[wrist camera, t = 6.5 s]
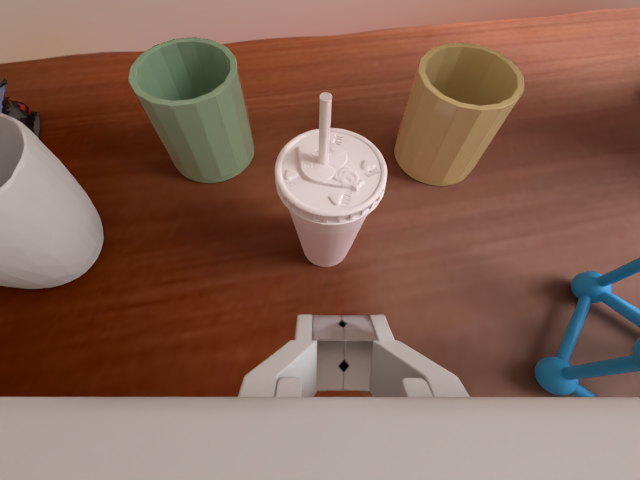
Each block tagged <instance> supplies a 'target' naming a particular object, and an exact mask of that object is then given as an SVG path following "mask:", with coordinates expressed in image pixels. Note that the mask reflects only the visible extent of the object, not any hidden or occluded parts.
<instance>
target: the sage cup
mask: <svg viewBox="0 0 640 480" xmlns="http://www.w3.org/2000/svg"><path fill="white" fill-rule="evenodd" d="M129 83H130V85H131V87H132V89H133V91H134V92H135V94H136V96H137V98H138V100H139V101H140V103H141V105H142V107H143V109H144V110H145V112H146V114H147V116H148V118H149V120H150V121H151V123H152V125H153V127H154V129H155V130H156V132H157V134H158V136H159V138H160V139H161V141H162V143H163V145H164V147H165V148H166V150H167V152H168V154H169V156H170V157H171V159H172V161H173V163H174V165H175V166H176V168H177V169H178V171H179V172H180V173H181V174H182V175H183V176H185V177H186V178H188V179H190V180H193V181H196V182H200V183H217V182H222V181H226V180H229V179H231V178H233V177H235V176H237V175H238V174H240V173H241V172H243V171H244V170H245V169H246V168H247V167H248V165H249V164H250V163H251V161H252V159H253V156H254V151H255V146H254V141H253V134H252V129H251V125H250V120H249V116H248V111H247V106H246V102H245V97H244V92H243V88H242V83H241V78H240V74H239V69H238V65H237V60H236V58H235V56H234V55H233V54H232V53H231V51H230V50H229V49H228V48H227V47H225V46H223V45H221V44H219V43H217V42H215V41H213V40H208V39H201V38H181V39H173V40H170V41H167V42H164V43H161V44H157V45H155V46H153V47H152V48H150V49H149V50H147V51H145V52H144V53H142V54H141V55H140V56H139V57H138V58H137V60H136V61H135V62H134V63H133V65H132V66H131V68H130V74H129Z"/></svg>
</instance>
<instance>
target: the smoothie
mask: <svg viewBox="0 0 640 480" xmlns="http://www.w3.org/2000/svg"><path fill="white" fill-rule="evenodd" d="M331 107H332V95H331V94H330V93H327V92H324V93H322V94H320V106H319V129H314V130H310V131H307V132H305V133H302V134H300V135H298V136H296V137H295V138H293V139H292V140H291V141H289V142H288V143H287V144H286V145H285V146H284V147H283V149H282V150H281V151H280V153H279V155H278V157H277V160H276V164H275V184H276V188H277V193H278V195H279V197H280V198H281V200H282V202H283V203H284V205H285V206H286V207H287V208H288V209H289V211H290V214H291V217H292V220H293V223H294V225H295V228H296V231H297V234H298V237H299V240H300V243H301V245H302V248H303V251H304V254H305V256H306V257H307V259H308V260H309V261H310V262H312V263H313V264H315V265H317V266H321V267H331V266H334V265H337V264H339V263H340V262H341V261H342V260H343V259H344V258H345V257H346V255H347V253H348V251H349V249H350V247H351V245H352V243H353V241H354V239H355V237H356V235H357V234H358V232H359V230H360V228H361V226H362V224H363V222H364V220H365V218H366V216H367V215H368V214H369V213H370V212H371V211H373V210H374V209H375V208H376V207H377V205H378V204H379V202H380V201H381V199H382V197H383V195H384V190H385V186H386V180H387V166H386V163H385V160H384V158H383V156H382V154H381V152H380V151H379V150H378V148H377V147H376V146H375V145H374V144H373V143H372V142H370V141H369V140H368V139H366V138H365V137H363V136H361V135H359V134H357V133H355V132H352V131H348V130H345V129H338V128H330V124H331Z"/></svg>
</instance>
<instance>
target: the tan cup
mask: <svg viewBox="0 0 640 480" xmlns="http://www.w3.org/2000/svg"><path fill="white" fill-rule="evenodd" d="M523 91H524V79H523V75H522V73H521V72H520V70H519V69H518V68H517V66H516V65H515V63H514V62H512V61H511V60H509V59H508V58H507V57H505V56H504V55H502V54H501V53H499V52H497V51H495V50H492V49H490V48H487V47H484V46H481V45H476V44H469V43H449V44H442V45H440V46H438V47H435V48H433V49H430V50H429V51H428V52H427V53H426V54H425V55H424V56H423V57H422V58H421V59H420V62H419V65H418V68H417V72H416V75H415V78H414V81H413V85H412V88H411V91H410V95H409V98H408V101H407V105H406V108H405V111H404V115H403V118H402V121H401V125H400V128H399V131H398V135H397V139H396V143H395V147H394V153H395V158H396V160H397V163H398V164H399V166H400V167H401V168H402V170H403V171H404V172H405V173H406V174H408V175H409V176H410V177H412V178H414V179H415V180H417V181H419V182H422V183H425V184H429V185H434V186H448V185H453V184H456V183H458V182H460V181H462V180H464V179H465V178H466V177H467V176H468V175H469V174H470V173H471V171H472V170H473V168H474V167H475V165H476V164H477V162H478V161H479V159H480V157H481V156H482V154H483V153H484V151H485V150H486V148H487V147H488V145H489V144H490V142H491V141H492V139H493V137H494V136H495V134H496V133H497V131H498V130H499V128H500V127H501V125H502V124H503V122H504V121H505V119H506V118H507V116H508V114H509V113H510V111H511V110H512V108H513V107H514V105H515V104H516V102H517V101H518V99H519V97H520V96H521V94H522V93H523Z"/></svg>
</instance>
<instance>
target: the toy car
mask: <svg viewBox="0 0 640 480" xmlns="http://www.w3.org/2000/svg"><path fill="white" fill-rule="evenodd" d="M7 84H8V83H7V80H6V79H5V78H4V80H3V81H2V83H1V84H0V113H3V114H5V115H7V116H10V117H13V118H15V119H16V120H18V121H20V122H22V123H23V124H24V125H25V126H26V127H27V128H29V129H30V130H31V131H32V132H33V133H34V134H35V135H36V136H37V137H38V136H39V131H40V120H39V117H38V116H40V114H39V113H38V112H32V111H30V109H29V108H28V107H27V106H26V105H25V104H24V103H21V102H17V101H11V100H8V98H9V96H8V97H6V98H4V95H5V88H6V85H7Z"/></svg>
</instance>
